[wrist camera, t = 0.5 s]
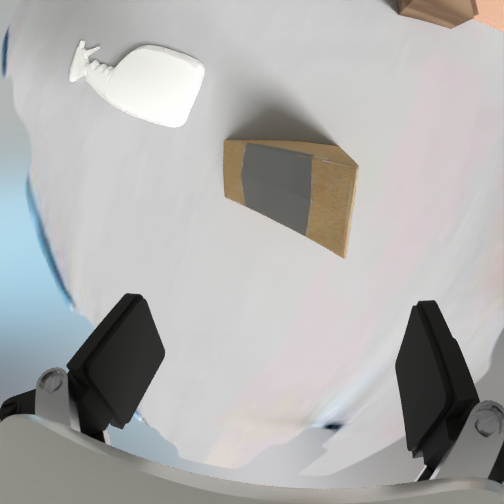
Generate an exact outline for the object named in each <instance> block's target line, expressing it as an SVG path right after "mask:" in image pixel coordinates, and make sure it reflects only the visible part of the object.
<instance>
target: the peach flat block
mask: <svg viewBox="0 0 504 504" xmlns="http://www.w3.org/2000/svg"><path fill="white" fill-rule="evenodd" d="M470 1H471V5H472V10H473V15H474V18H473V19H475V20H477V21H480V22H482V23H484V24H487V25H489V26H491V27H493V28H496V29H498V30H500V31H502V32H504V0H470Z"/></svg>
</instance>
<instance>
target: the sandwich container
mask: <svg viewBox="0 0 504 504" xmlns="http://www.w3.org/2000/svg"><path fill="white" fill-rule="evenodd" d="M358 169H359V167H358V164H357V163H356V162H355V161H354V160H353V159H352V158H351V157H350V156H349V155H348V154H347V153H346V152H344V151H343V150H342V149H341V148H340V147H339V146H334V145H326V144H319V143H310V142H301V141H288V140H224V157H223V174H224V192H225V197H226V198H228V199H230V200H233V201H235V202H237V203H239V204H241V205H244V206H246V207H248V208H250V209H252V210H254V211H256V212H259V213H261V214H263V215H265V216H267V217H269V218H271V219H272V220H274V221H276V222H278V223H280V224H282V225H284V226H286V227H288V228H290V229H292V230H294V231H296V232H298V233H300V234H302V235H304V236H306V237H307V238H309V239H311V240H313V241H315V242H317V243H318V244H320V245H322V246H324V247H325V248H327V249H329V250H330V251H332V252H334V253H335V254H337V255H339V256H340V257H342V258H346V252H347V246H348V240H349V233H350V226H351V219H352V213H353V206H354V199H355V192H356V185H357V177H358Z"/></svg>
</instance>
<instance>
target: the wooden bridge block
mask: <svg viewBox="0 0 504 504" xmlns="http://www.w3.org/2000/svg"><path fill="white" fill-rule="evenodd" d="M397 6H398V13H399V15H402V16H406V17H411V18H415V19H419V20H423V21H426V22H430V23H434V24H437V25H440V26H443V27H447V28H450V29H452V28H454V27H456V26H458V25H460V24H462V23H464V22H466V21H468V20H471V19H473V18H474V15H473V10H472V5H471V1H470V0H397Z"/></svg>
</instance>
